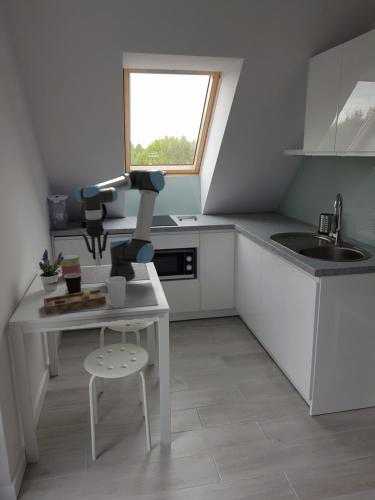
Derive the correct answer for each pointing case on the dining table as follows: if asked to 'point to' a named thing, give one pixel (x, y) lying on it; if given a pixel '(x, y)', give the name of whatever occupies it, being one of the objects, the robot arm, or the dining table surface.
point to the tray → (73, 301)
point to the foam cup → (116, 290)
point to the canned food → (70, 264)
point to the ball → (86, 294)
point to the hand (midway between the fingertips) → (98, 265)
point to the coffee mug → (73, 282)
